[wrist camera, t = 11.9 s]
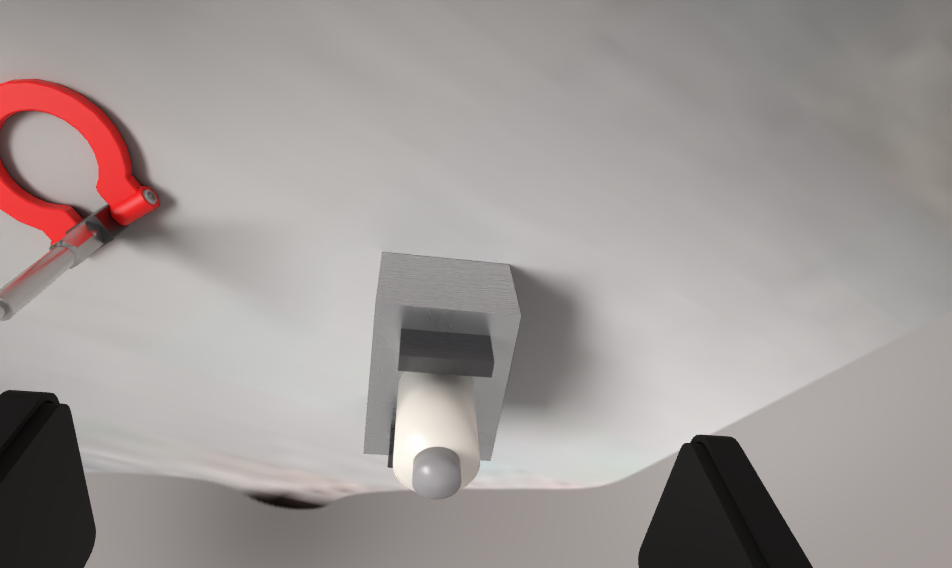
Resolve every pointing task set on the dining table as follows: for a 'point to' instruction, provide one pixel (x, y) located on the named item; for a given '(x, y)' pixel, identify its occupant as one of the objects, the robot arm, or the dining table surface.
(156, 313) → the dining table surface
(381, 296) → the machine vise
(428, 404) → the bottle
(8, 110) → the tow hook
